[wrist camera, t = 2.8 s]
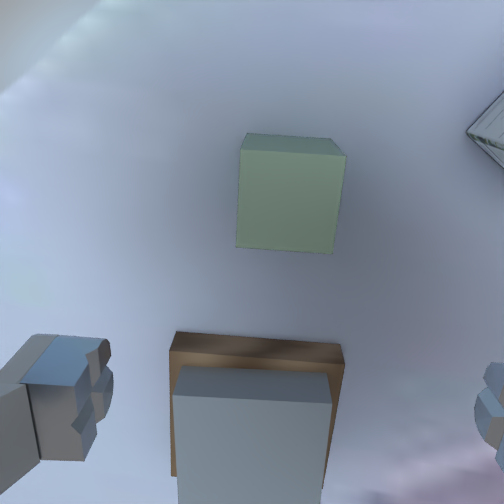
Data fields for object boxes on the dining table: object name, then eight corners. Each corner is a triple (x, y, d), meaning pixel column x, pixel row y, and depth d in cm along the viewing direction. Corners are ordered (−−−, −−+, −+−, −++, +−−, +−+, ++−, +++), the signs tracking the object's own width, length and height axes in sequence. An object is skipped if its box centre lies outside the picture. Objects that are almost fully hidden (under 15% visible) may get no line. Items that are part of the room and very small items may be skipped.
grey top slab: (326, 372, 29) (332, 403, 26) (314, 477, 33) (318, 514, 30) (181, 365, 29) (172, 395, 27) (186, 470, 33) (178, 506, 30)
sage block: (330, 138, 25) (346, 156, 20) (320, 218, 27) (332, 254, 22) (247, 133, 26) (240, 149, 20) (243, 212, 27) (235, 247, 22)
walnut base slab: (338, 339, 32) (345, 364, 29) (318, 457, 36) (322, 488, 33) (178, 326, 32) (169, 350, 29) (178, 445, 36) (171, 476, 34)
